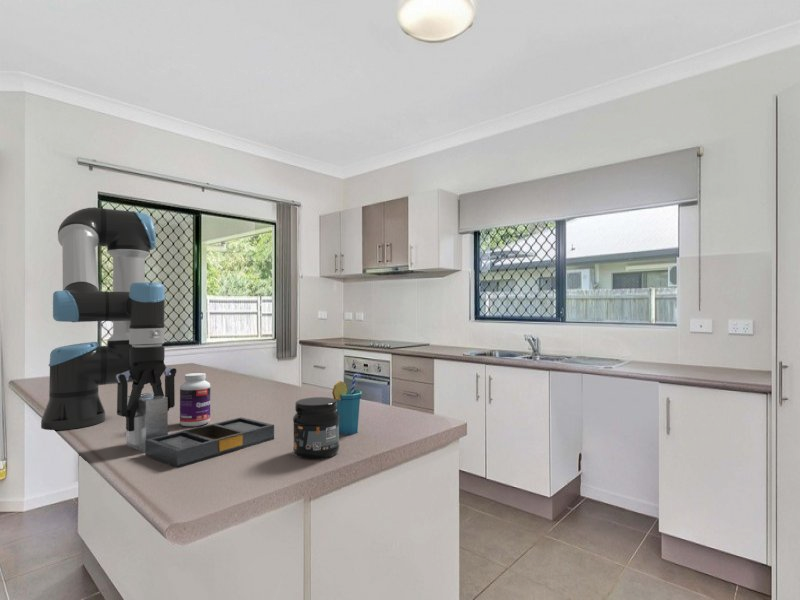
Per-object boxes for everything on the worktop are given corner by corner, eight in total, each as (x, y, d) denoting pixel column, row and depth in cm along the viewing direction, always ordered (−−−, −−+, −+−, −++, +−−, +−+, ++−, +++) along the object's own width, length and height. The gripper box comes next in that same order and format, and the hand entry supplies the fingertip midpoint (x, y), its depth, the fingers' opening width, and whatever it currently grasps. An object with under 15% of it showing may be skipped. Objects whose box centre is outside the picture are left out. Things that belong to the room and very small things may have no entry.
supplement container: (299, 445, 107) (299, 396, 108) (342, 446, 107) (342, 396, 107) (287, 461, 97) (287, 406, 97) (335, 461, 96) (335, 406, 97)
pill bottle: (198, 428, 123) (198, 376, 124) (173, 427, 125) (173, 376, 125) (216, 421, 131) (216, 372, 132) (192, 419, 133) (192, 371, 133)
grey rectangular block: (126, 445, 109) (126, 396, 109) (147, 440, 113) (147, 393, 113) (145, 452, 103) (146, 401, 103) (167, 447, 107) (167, 397, 107)
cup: (348, 423, 128) (347, 371, 128) (372, 425, 125) (372, 372, 126) (324, 436, 115) (324, 378, 115) (351, 439, 112) (351, 380, 112)
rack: (145, 455, 101) (145, 439, 101) (241, 430, 121) (241, 417, 121) (177, 468, 92) (178, 451, 93) (274, 439, 113) (274, 425, 113)
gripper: (112, 349, 99) (112, 453, 98) (191, 343, 113) (190, 434, 113) (98, 347, 103) (98, 447, 103) (175, 342, 118) (175, 430, 117)
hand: (146, 440), depth 108 cm, fingers closed on grey rectangular block, 5 cm apart
